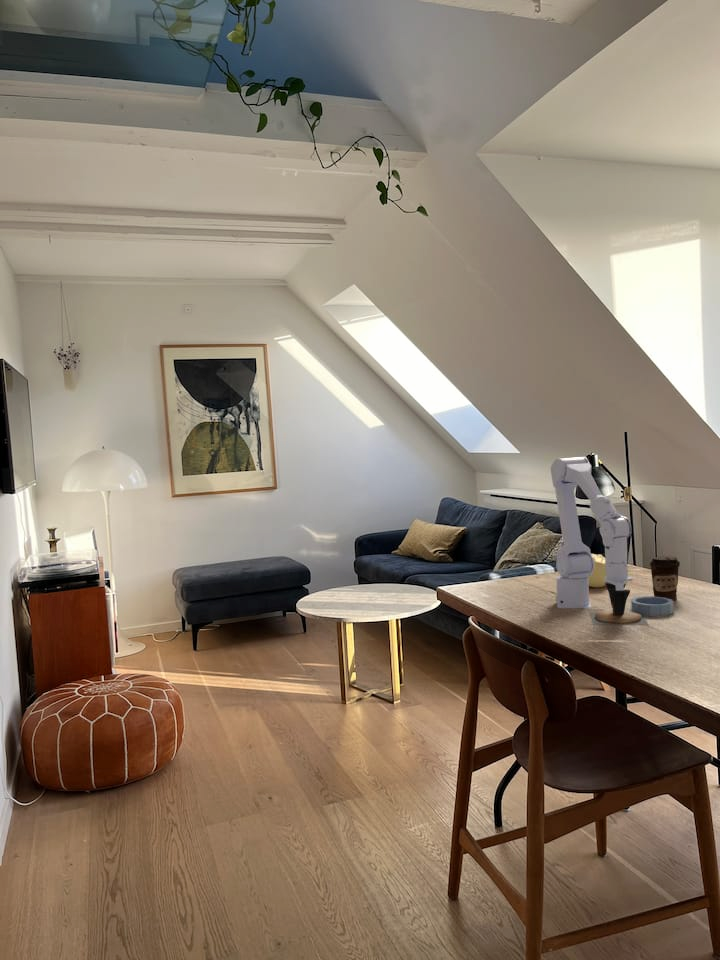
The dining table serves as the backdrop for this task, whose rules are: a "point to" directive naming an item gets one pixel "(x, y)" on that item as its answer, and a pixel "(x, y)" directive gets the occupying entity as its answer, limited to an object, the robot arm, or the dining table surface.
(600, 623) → the plate
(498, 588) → the dining table surface
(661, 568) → the coffee cup
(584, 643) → the dining table surface
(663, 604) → the dish
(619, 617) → the lid
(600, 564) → the sculpture
